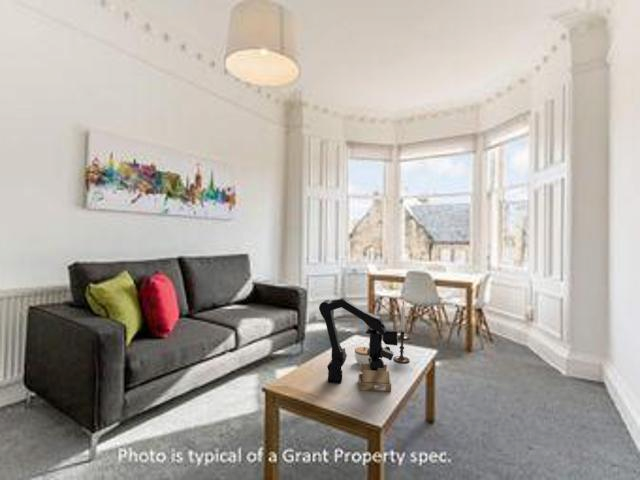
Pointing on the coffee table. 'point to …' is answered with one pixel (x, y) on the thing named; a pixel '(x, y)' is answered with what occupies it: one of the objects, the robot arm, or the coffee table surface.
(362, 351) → the lidded jar
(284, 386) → the coffee table surface
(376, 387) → the carton
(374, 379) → the near flap
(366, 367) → the far flap
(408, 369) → the coffee table surface
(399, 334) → the candlestick
